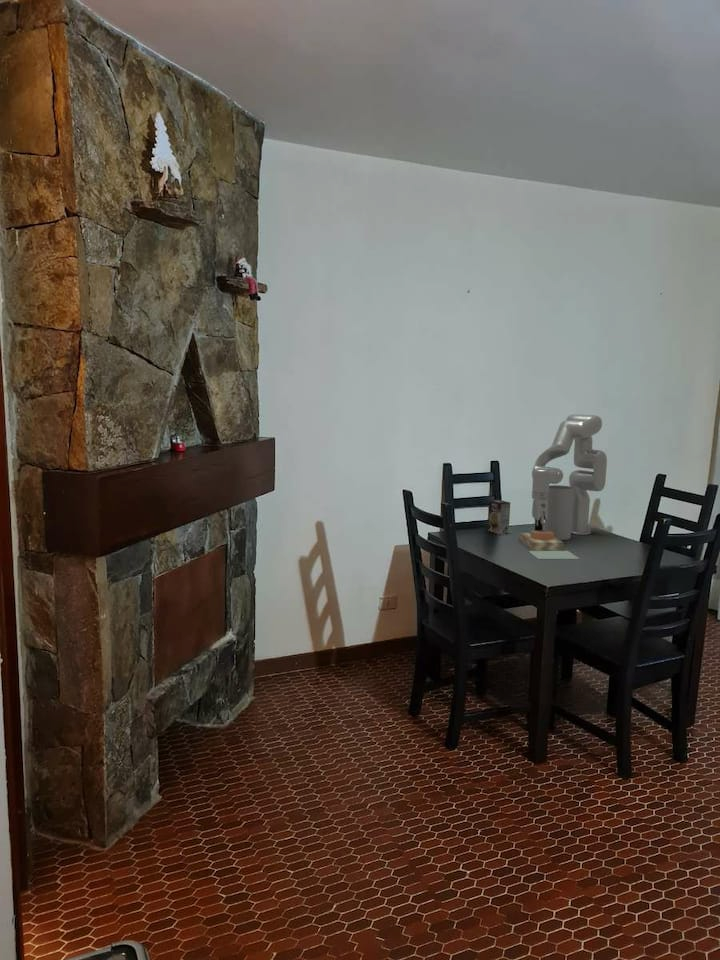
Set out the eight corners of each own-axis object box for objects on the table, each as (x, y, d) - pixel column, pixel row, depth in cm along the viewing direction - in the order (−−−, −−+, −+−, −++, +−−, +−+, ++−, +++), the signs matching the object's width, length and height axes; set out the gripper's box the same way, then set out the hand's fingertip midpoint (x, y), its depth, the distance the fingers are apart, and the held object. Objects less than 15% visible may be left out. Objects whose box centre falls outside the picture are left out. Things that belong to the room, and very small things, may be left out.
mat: (567, 551, 313) (567, 550, 313) (579, 559, 300) (579, 558, 300) (528, 551, 312) (528, 550, 312) (538, 559, 298) (538, 558, 298)
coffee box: (487, 531, 353) (488, 500, 351) (497, 530, 356) (498, 499, 354) (499, 535, 345) (500, 502, 343) (509, 533, 348) (510, 502, 346)
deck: (548, 541, 334) (548, 532, 333) (562, 551, 314) (563, 542, 313) (519, 541, 333) (519, 532, 332) (532, 551, 313) (532, 542, 312)
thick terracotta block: (549, 536, 325) (549, 530, 324) (553, 539, 319) (554, 533, 318) (530, 536, 324) (530, 530, 323) (534, 539, 318) (534, 533, 317)
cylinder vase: (576, 539, 337) (579, 488, 334) (554, 541, 333) (557, 489, 329) (559, 534, 349) (562, 484, 345) (538, 536, 344) (541, 485, 341)
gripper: (553, 498, 316) (551, 537, 319) (543, 492, 331) (541, 530, 334) (537, 498, 316) (535, 537, 318) (527, 492, 331) (525, 530, 333)
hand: (538, 534), depth 326 cm, fingers closed
